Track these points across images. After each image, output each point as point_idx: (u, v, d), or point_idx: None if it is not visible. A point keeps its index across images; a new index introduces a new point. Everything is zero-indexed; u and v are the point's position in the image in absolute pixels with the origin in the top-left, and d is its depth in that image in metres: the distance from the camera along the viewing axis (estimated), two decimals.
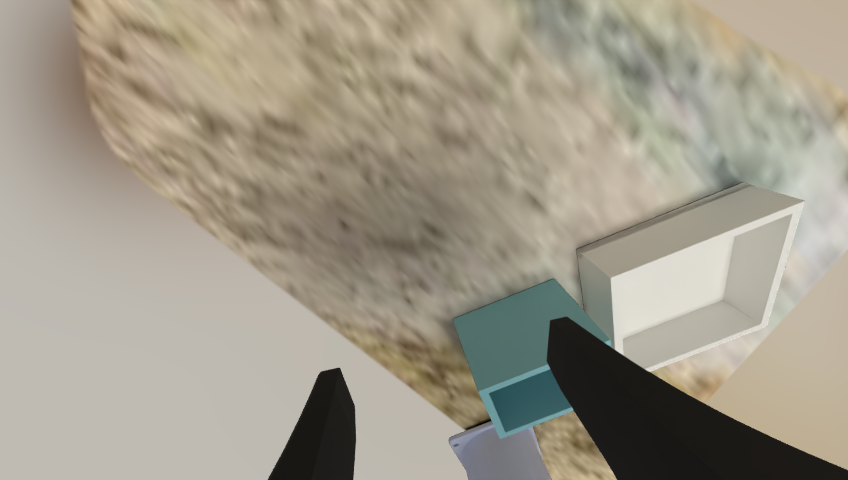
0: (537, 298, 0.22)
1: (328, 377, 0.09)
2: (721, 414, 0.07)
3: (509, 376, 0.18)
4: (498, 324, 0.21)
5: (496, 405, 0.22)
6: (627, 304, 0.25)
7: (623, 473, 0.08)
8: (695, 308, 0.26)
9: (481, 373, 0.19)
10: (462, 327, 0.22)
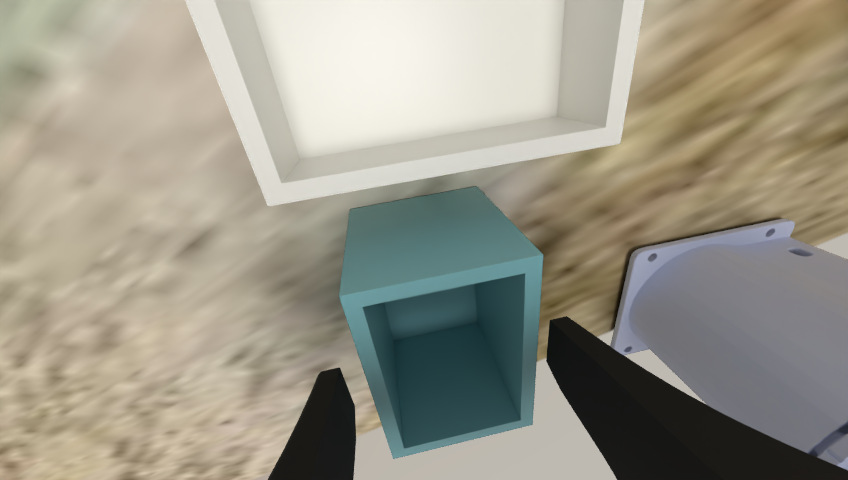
0: None
1: (328, 377, 0.09)
2: (721, 414, 0.07)
3: None
4: None
5: (502, 377, 0.14)
6: (454, 55, 0.11)
7: (623, 473, 0.08)
8: None
9: None
10: None
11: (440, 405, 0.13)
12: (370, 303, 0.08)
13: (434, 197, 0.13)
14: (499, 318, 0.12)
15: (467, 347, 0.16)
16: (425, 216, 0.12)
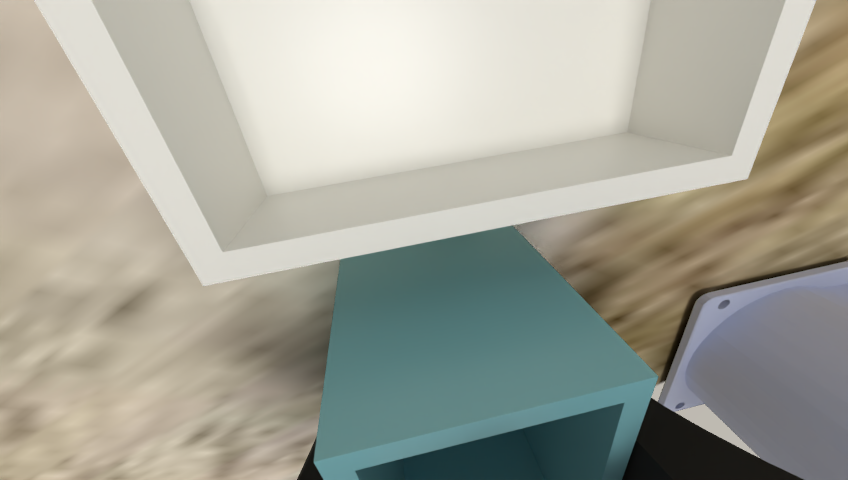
0: None
1: None
2: (689, 422, 0.06)
3: None
4: None
5: (545, 479, 0.10)
6: (491, 45, 0.07)
7: None
8: None
9: None
10: None
11: None
12: (368, 465, 0.05)
13: (455, 240, 0.10)
14: None
15: None
16: (446, 275, 0.08)
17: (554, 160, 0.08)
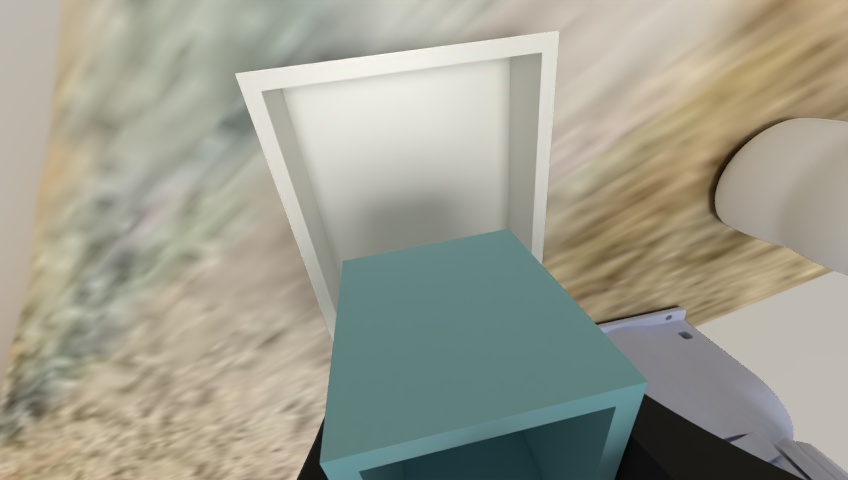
0: None
1: None
2: (689, 422, 0.06)
3: None
4: None
5: (542, 478, 0.11)
6: (441, 237, 0.18)
7: None
8: (503, 116, 0.15)
9: None
10: None
11: None
12: (371, 466, 0.05)
13: (455, 245, 0.10)
14: None
15: None
16: (446, 281, 0.09)
17: None
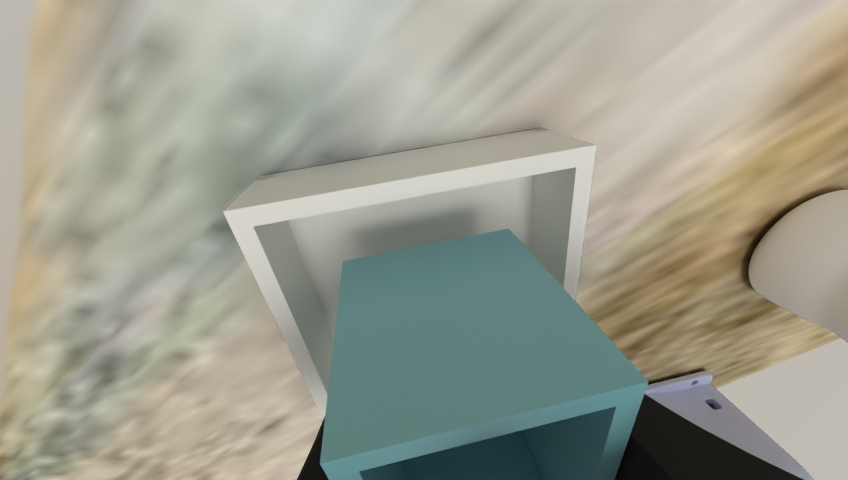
0: None
1: None
2: (689, 422, 0.06)
3: None
4: None
5: (542, 477, 0.11)
6: None
7: None
8: (525, 206, 0.14)
9: None
10: None
11: None
12: (372, 466, 0.05)
13: (455, 245, 0.10)
14: None
15: None
16: (446, 281, 0.09)
17: None
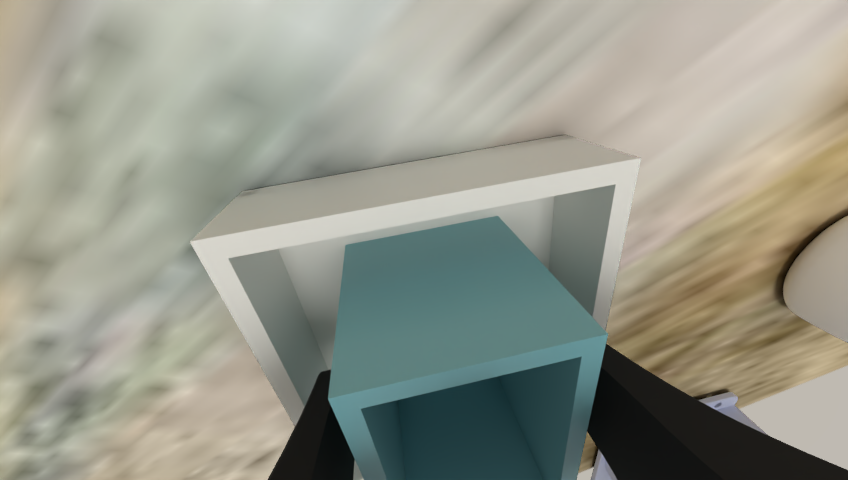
0: None
1: (328, 377, 0.09)
2: (721, 414, 0.07)
3: None
4: None
5: (529, 445, 0.11)
6: None
7: (623, 473, 0.08)
8: (545, 223, 0.12)
9: None
10: None
11: None
12: (371, 404, 0.06)
13: (448, 230, 0.11)
14: (529, 382, 0.10)
15: (484, 402, 0.13)
16: (439, 259, 0.09)
17: None
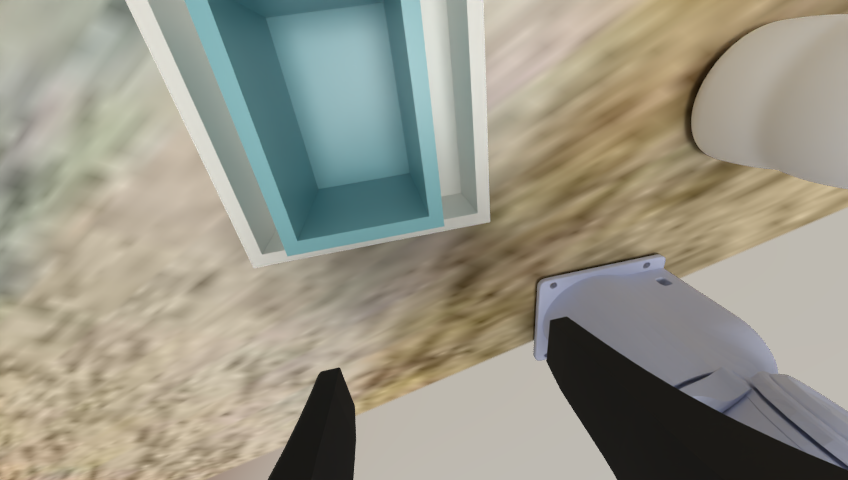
0: None
1: (328, 377, 0.09)
2: (721, 414, 0.07)
3: None
4: None
5: (420, 195, 0.13)
6: None
7: (623, 473, 0.08)
8: (440, 3, 0.13)
9: None
10: None
11: (348, 216, 0.12)
12: None
13: None
14: (407, 108, 0.11)
15: (392, 186, 0.14)
16: None
17: None
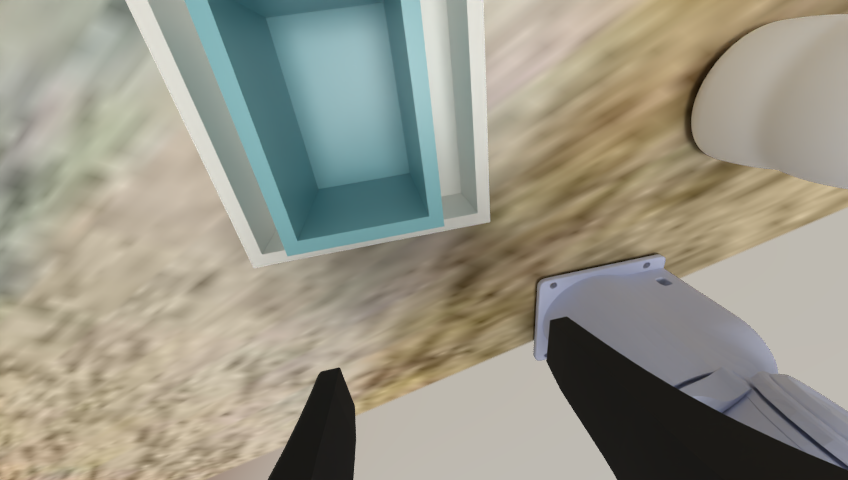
0: None
1: (328, 377, 0.09)
2: (721, 414, 0.07)
3: None
4: None
5: (420, 195, 0.13)
6: None
7: (623, 473, 0.08)
8: (440, 3, 0.13)
9: None
10: None
11: (348, 216, 0.12)
12: None
13: None
14: (407, 108, 0.11)
15: (392, 186, 0.14)
16: None
17: None
